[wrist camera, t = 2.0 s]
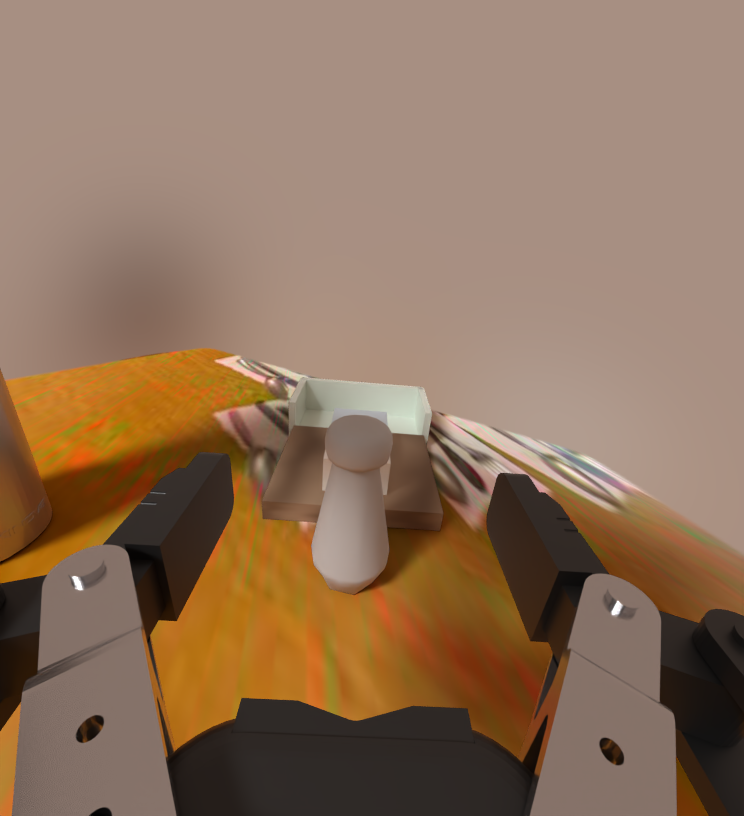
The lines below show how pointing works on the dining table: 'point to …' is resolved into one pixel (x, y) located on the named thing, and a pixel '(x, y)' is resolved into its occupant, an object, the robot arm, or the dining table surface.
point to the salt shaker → (353, 505)
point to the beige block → (383, 470)
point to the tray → (360, 404)
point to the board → (302, 491)
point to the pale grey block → (345, 412)
